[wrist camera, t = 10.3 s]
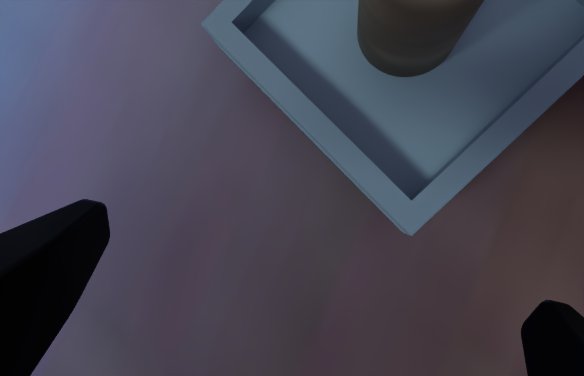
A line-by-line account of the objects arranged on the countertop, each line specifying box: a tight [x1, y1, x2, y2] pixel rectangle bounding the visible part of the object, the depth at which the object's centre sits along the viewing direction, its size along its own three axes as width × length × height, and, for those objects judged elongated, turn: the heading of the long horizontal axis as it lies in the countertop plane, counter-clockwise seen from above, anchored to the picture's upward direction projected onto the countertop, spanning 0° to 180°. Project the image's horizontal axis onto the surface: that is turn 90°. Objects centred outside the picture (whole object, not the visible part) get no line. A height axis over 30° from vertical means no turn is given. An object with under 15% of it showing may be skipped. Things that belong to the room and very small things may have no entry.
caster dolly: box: [201, 0, 584, 236], centre depth 18 cm, size 13×13×4 cm
